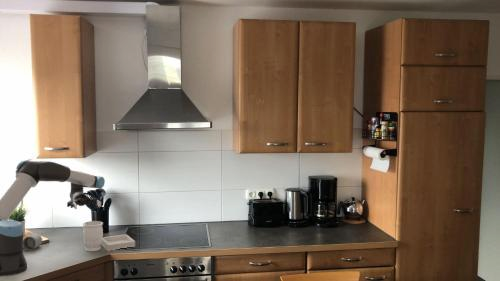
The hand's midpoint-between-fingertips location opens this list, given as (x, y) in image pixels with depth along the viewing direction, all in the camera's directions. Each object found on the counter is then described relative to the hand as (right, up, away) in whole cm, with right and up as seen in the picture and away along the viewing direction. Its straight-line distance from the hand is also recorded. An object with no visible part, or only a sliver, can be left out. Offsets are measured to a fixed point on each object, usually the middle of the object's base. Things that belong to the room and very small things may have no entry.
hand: (88, 205), depth 252 cm
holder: (+17, -23, -1) cm, 29 cm away
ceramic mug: (-29, -23, -10) cm, 38 cm away
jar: (+6, -23, -9) cm, 26 cm away
